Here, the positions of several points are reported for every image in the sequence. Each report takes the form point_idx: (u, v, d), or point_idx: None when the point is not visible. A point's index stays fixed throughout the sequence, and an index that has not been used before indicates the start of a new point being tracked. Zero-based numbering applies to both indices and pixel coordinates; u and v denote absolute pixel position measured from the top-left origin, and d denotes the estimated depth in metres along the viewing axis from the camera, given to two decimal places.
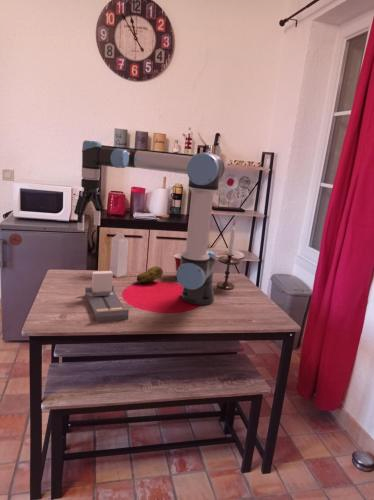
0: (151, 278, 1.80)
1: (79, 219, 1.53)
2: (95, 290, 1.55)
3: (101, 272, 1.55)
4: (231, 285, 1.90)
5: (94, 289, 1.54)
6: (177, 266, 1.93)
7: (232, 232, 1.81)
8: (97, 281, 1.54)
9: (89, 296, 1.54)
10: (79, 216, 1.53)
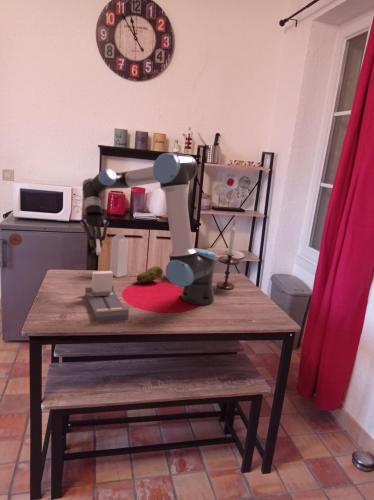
0: (151, 278, 1.80)
1: (93, 243, 1.63)
2: (95, 290, 1.55)
3: (101, 272, 1.55)
4: (231, 285, 1.90)
5: (94, 289, 1.54)
6: None
7: (232, 232, 1.81)
8: (97, 281, 1.54)
9: (89, 296, 1.54)
10: (93, 241, 1.63)
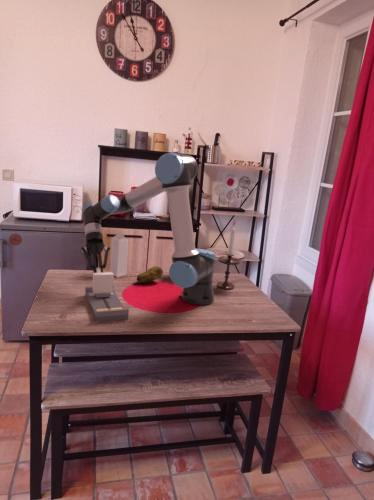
0: (151, 278, 1.80)
1: (93, 272, 1.58)
2: (96, 291, 1.53)
3: (102, 273, 1.54)
4: (231, 285, 1.90)
5: (95, 290, 1.53)
6: None
7: (232, 232, 1.81)
8: (97, 283, 1.52)
9: (89, 296, 1.54)
10: (93, 269, 1.59)
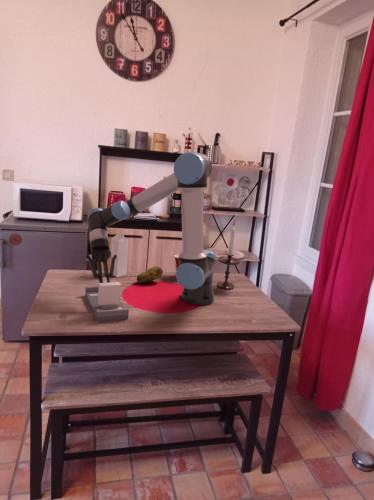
0: (151, 278, 1.80)
1: (99, 282, 1.48)
2: (102, 303, 1.43)
3: (108, 284, 1.43)
4: (231, 285, 1.90)
5: (101, 302, 1.42)
6: (177, 266, 1.93)
7: (232, 232, 1.81)
8: (103, 294, 1.42)
9: (89, 296, 1.54)
10: (99, 279, 1.48)
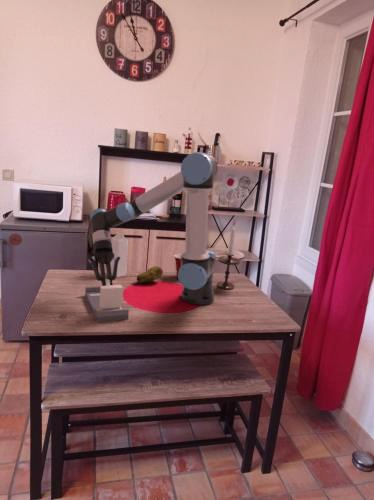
0: (151, 278, 1.80)
1: (102, 284, 1.45)
2: (103, 306, 1.40)
3: (110, 286, 1.40)
4: (231, 285, 1.90)
5: (102, 305, 1.40)
6: (177, 266, 1.93)
7: (232, 232, 1.81)
8: (105, 297, 1.39)
9: (89, 296, 1.54)
10: (102, 281, 1.46)
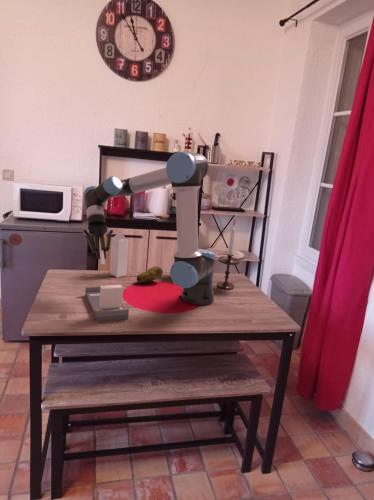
0: (151, 278, 1.80)
1: (97, 255, 1.55)
2: (103, 306, 1.40)
3: (110, 286, 1.41)
4: (231, 285, 1.90)
5: (102, 305, 1.40)
6: None
7: (232, 232, 1.81)
8: (105, 297, 1.39)
9: (89, 296, 1.54)
10: (96, 252, 1.55)
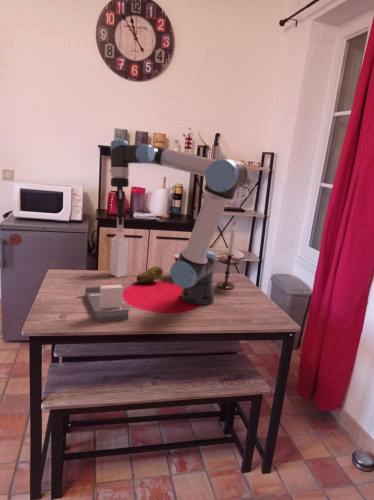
0: (151, 278, 1.80)
1: (121, 221, 1.60)
2: (103, 306, 1.40)
3: (110, 286, 1.41)
4: (231, 285, 1.90)
5: (102, 305, 1.40)
6: None
7: (232, 232, 1.81)
8: (105, 297, 1.39)
9: (89, 296, 1.54)
10: (120, 218, 1.60)
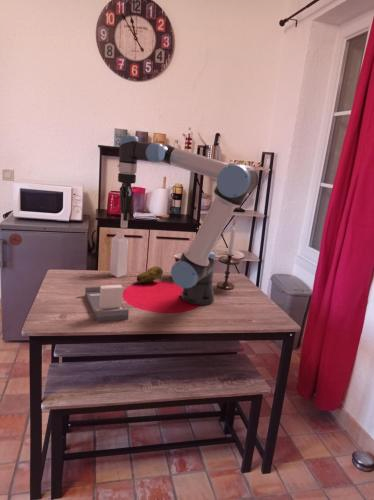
0: (151, 278, 1.80)
1: (126, 217, 1.60)
2: (103, 306, 1.40)
3: (110, 286, 1.41)
4: (231, 285, 1.90)
5: (102, 305, 1.40)
6: None
7: (232, 232, 1.81)
8: (105, 297, 1.39)
9: (89, 296, 1.54)
10: (126, 214, 1.60)
